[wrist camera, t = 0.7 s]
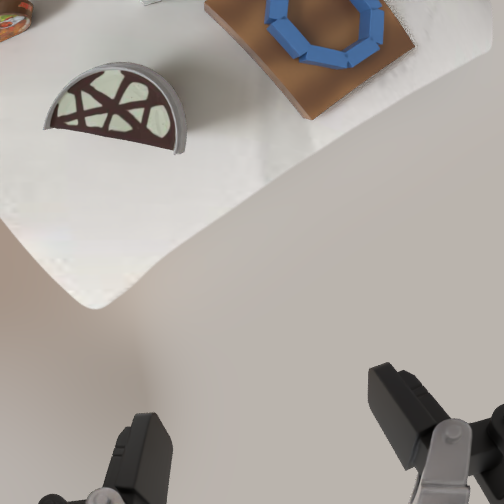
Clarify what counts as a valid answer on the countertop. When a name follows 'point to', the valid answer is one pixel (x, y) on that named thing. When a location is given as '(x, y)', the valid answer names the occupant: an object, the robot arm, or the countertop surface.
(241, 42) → the platform
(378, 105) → the countertop surface
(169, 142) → the food container
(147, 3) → the small box
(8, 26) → the mottled orange brown slab
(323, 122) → the countertop surface
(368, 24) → the ring
